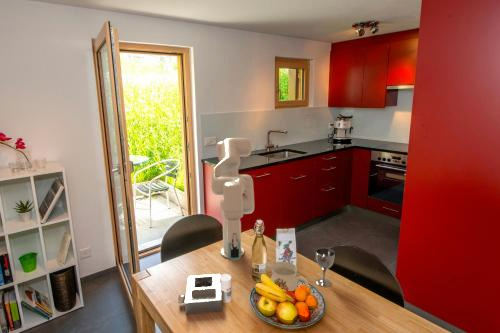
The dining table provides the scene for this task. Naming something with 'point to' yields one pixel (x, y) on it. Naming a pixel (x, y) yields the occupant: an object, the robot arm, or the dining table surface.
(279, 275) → the pitcher
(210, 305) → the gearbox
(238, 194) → the robot arm
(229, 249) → the green drinking glass
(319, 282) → the wine glass
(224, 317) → the dining table surface
